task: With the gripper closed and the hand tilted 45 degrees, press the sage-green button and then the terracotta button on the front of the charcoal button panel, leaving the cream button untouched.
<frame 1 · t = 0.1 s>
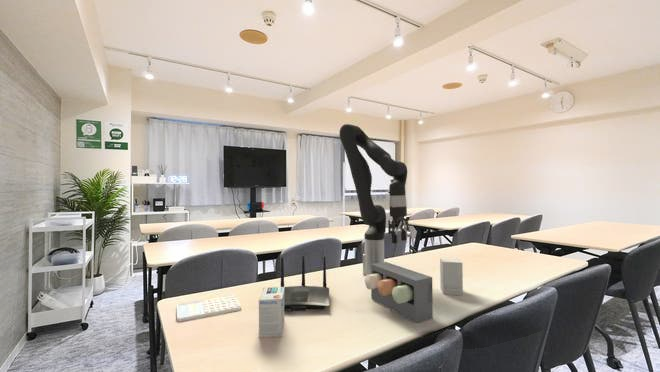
hand: (399, 241, 135), 17 cm above the table, tool pointing down, fingers open, 8 cm apart
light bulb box: (272, 329, 90), on the table
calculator: (208, 310, 105), on the table
sage button: (403, 293, 96), point 8 cm above the table, slide at 0.0 cm
router: (301, 303, 111), on the table
button panel: (391, 309, 103), on the table
terracotta button: (388, 287, 102), point 8 cm above the table, slide at 0.0 cm
cream button: (374, 281, 109), point 8 cm above the table, slide at 0.0 cm
supplement box: (451, 292, 120), on the table
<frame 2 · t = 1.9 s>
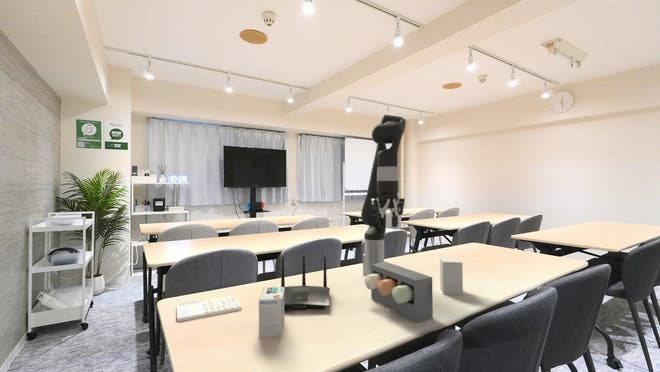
hand: (388, 227, 107), 27 cm above the table, tool pointing down, fingers open, 5 cm apart
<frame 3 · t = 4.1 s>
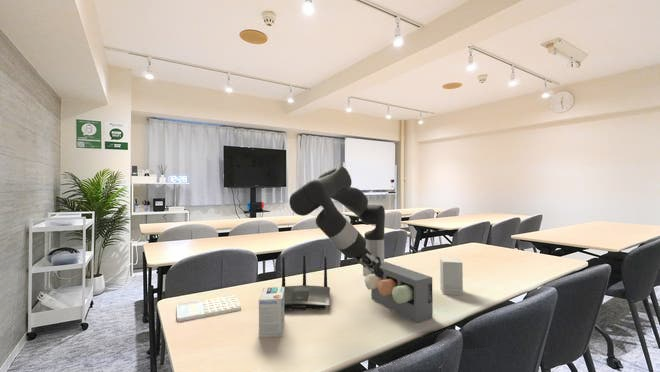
hand: (381, 275, 91), 15 cm above the table, tool tilted 45°, fingers closed
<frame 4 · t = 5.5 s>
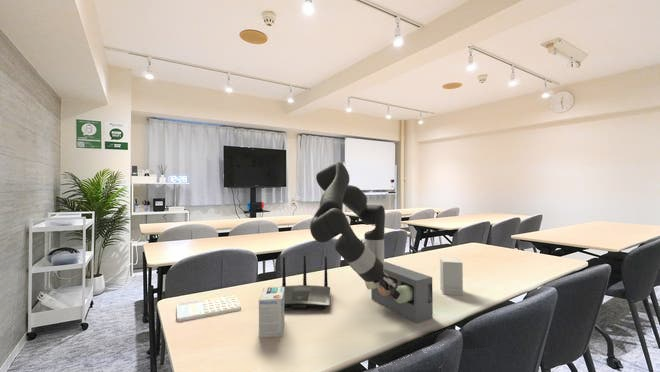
hand: (396, 296, 94), 8 cm above the table, tool tilted 45°, fingers closed
sage button: (404, 293, 96), point 8 cm above the table, slide at 0.4 cm, touching gripper
everything else where it was.
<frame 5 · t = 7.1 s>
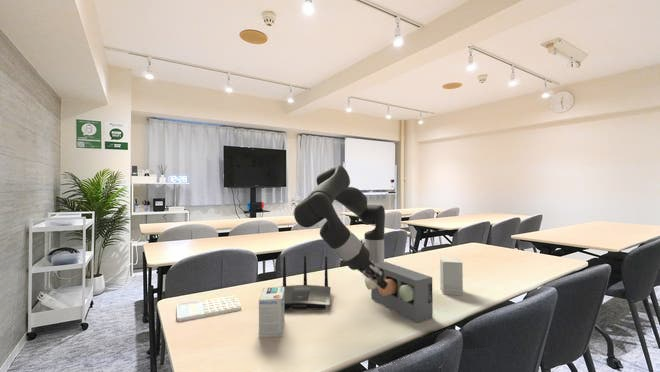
hand: (384, 286, 92), 12 cm above the table, tool tilted 45°, fingers closed
sage button: (410, 292, 97), point 8 cm above the table, slide at 3.0 cm
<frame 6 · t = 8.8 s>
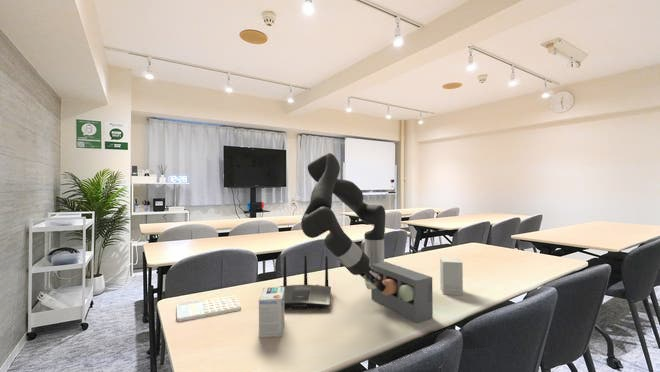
hand: (383, 288, 101), 8 cm above the table, tool tilted 45°, fingers closed
terracotta button: (390, 286, 103), point 8 cm above the table, slide at 0.9 cm, touching gripper
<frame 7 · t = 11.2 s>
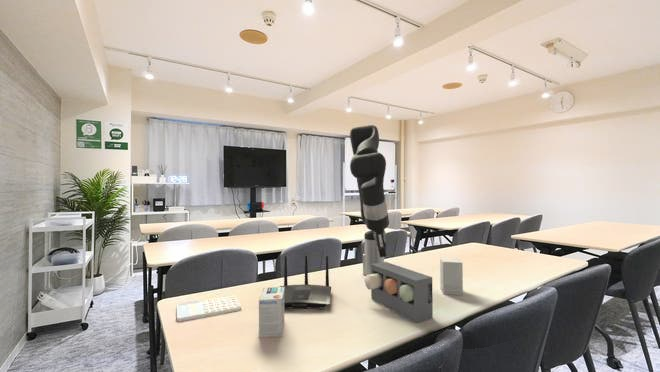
hand: (382, 255, 104), 18 cm above the table, tool tilted 25°, fingers closed
terracotta button: (394, 285, 104), point 8 cm above the table, slide at 2.9 cm
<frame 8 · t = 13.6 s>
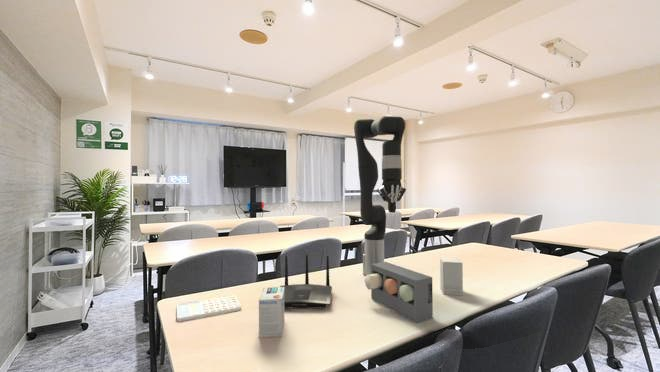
hand: (392, 212, 118), 32 cm above the table, tool pointing down, fingers closed
at the end: sage button slide at 3.0 cm; terracotta button slide at 2.9 cm; cream button slide at 0.0 cm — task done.
